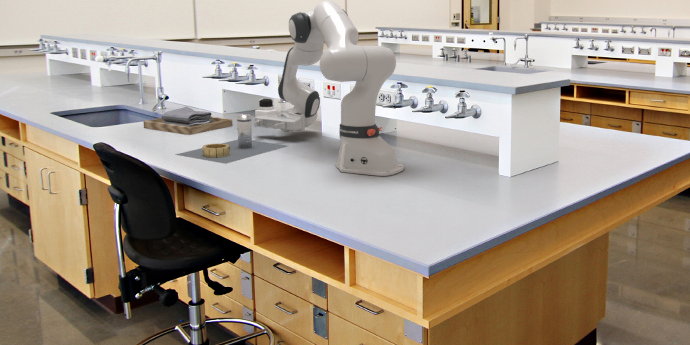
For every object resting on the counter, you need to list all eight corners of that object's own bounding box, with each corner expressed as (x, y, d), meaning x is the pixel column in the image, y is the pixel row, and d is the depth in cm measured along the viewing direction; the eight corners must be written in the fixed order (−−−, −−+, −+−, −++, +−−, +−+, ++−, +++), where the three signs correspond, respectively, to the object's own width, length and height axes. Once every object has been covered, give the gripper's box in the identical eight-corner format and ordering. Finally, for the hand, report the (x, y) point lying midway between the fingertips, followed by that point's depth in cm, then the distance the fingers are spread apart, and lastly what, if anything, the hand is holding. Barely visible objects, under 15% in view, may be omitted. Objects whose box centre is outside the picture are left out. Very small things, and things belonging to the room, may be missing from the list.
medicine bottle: (277, 125, 277) (277, 98, 274) (267, 127, 271) (266, 100, 268) (265, 123, 281) (264, 97, 278) (255, 126, 275) (254, 99, 272)
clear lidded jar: (255, 146, 229) (253, 114, 226) (245, 149, 225) (244, 116, 222) (244, 145, 232) (243, 113, 229) (235, 147, 228) (234, 115, 225)
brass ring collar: (235, 153, 217) (234, 145, 217) (216, 158, 210) (216, 150, 209) (216, 150, 222) (215, 142, 222) (197, 155, 215) (196, 146, 214)
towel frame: (232, 125, 274) (232, 119, 274) (189, 134, 254) (189, 127, 253) (187, 119, 289) (187, 113, 289) (143, 127, 269) (143, 121, 268)
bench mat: (289, 147, 231) (289, 145, 231) (225, 165, 203) (225, 163, 203) (241, 140, 244) (241, 138, 244) (175, 156, 216) (175, 154, 216)
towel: (160, 129, 267) (159, 111, 265) (187, 122, 284) (186, 105, 282) (189, 132, 262) (188, 113, 260) (214, 125, 278) (213, 107, 276)
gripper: (267, 110, 252) (244, 114, 241) (307, 114, 241) (285, 119, 230) (267, 125, 254) (245, 130, 242) (307, 130, 243) (286, 136, 231)
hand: (265, 125), depth 236 cm, fingers open, 8 cm apart
